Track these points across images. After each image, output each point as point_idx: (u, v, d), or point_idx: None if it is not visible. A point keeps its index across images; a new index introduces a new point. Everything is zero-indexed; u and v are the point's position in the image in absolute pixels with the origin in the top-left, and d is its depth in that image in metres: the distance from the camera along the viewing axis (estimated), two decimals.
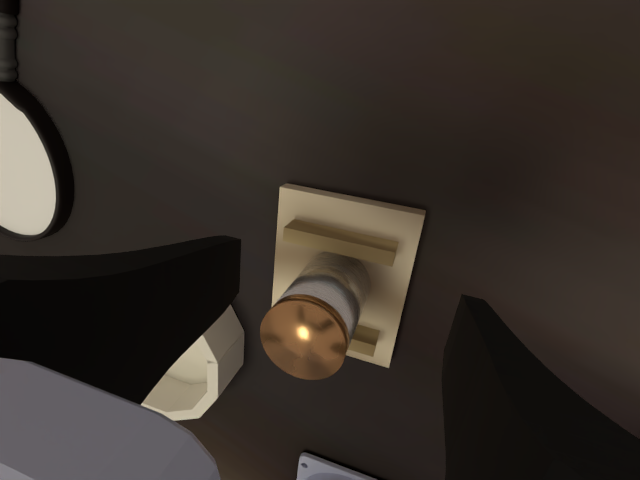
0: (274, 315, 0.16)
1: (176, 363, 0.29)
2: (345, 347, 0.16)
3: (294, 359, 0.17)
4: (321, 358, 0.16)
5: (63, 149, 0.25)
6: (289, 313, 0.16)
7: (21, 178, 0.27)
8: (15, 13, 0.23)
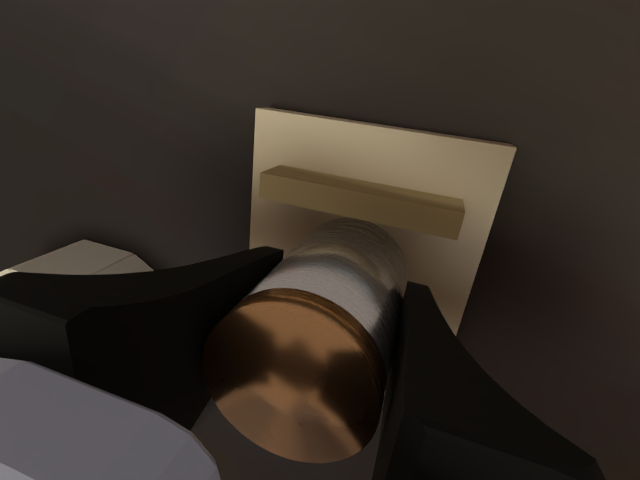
0: (229, 332, 0.08)
1: None
2: (380, 404, 0.07)
3: (271, 421, 0.08)
4: (327, 423, 0.08)
5: None
6: (259, 329, 0.07)
7: None
8: None
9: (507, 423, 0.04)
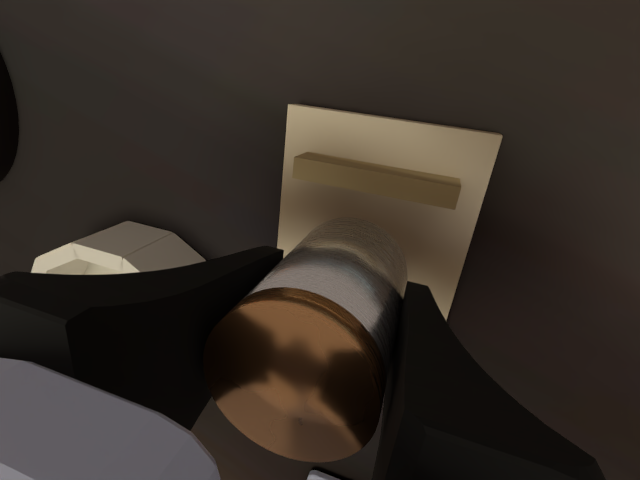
0: (229, 331, 0.08)
1: None
2: (380, 403, 0.07)
3: (272, 420, 0.08)
4: (327, 422, 0.08)
5: (0, 60, 0.19)
6: (259, 328, 0.07)
7: None
8: None
9: (506, 423, 0.04)
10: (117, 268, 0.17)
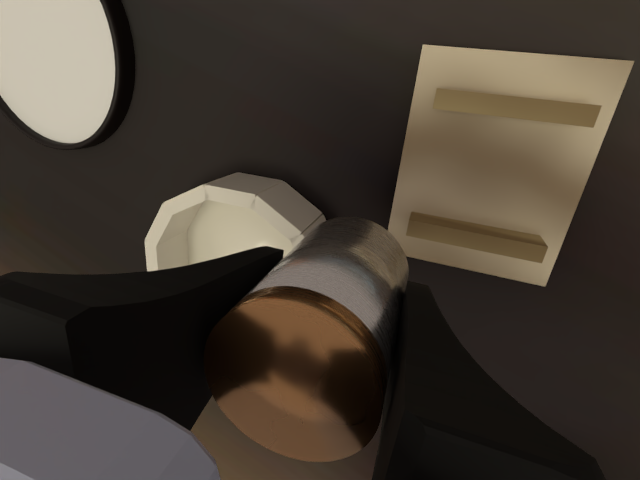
0: (230, 330, 0.08)
1: None
2: (382, 402, 0.07)
3: (272, 420, 0.08)
4: (328, 422, 0.08)
5: (124, 16, 0.21)
6: (260, 327, 0.07)
7: (70, 64, 0.22)
8: None
9: (507, 423, 0.04)
10: (248, 206, 0.19)
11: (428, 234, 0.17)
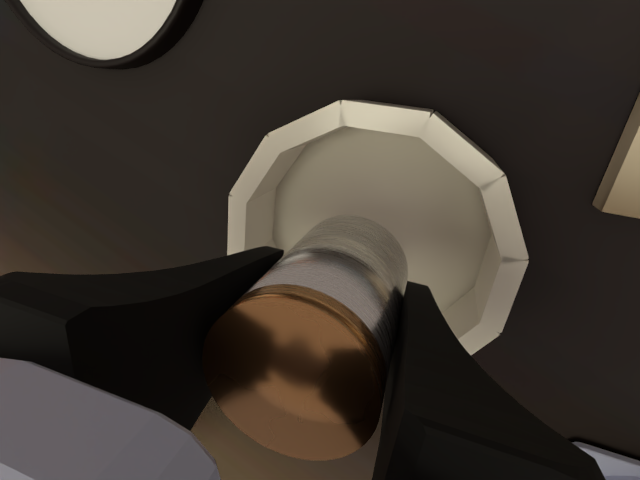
0: (229, 328, 0.08)
1: None
2: (381, 401, 0.07)
3: (271, 418, 0.08)
4: (327, 420, 0.08)
5: None
6: (260, 325, 0.07)
7: None
8: None
9: (507, 424, 0.04)
10: (415, 132, 0.12)
11: None
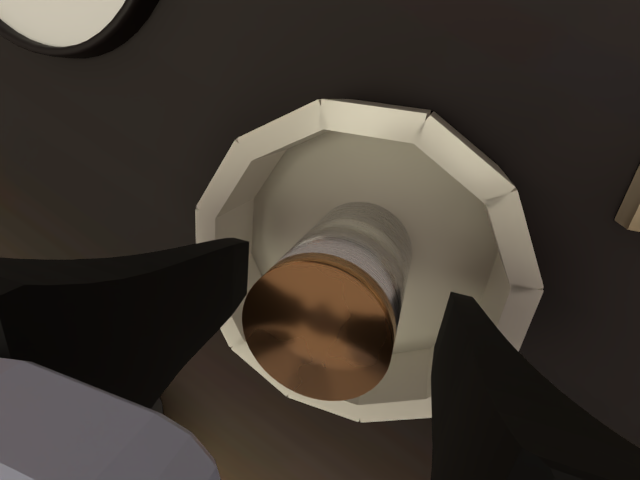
0: (266, 288, 0.09)
1: None
2: (392, 346, 0.09)
3: (299, 365, 0.10)
4: (347, 365, 0.09)
5: None
6: (293, 284, 0.09)
7: None
8: None
9: (622, 460, 0.04)
10: (408, 138, 0.10)
11: None
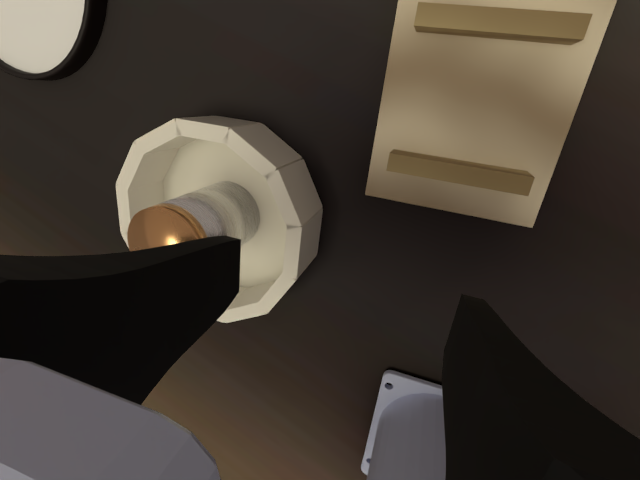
0: (137, 222, 0.17)
1: None
2: None
3: None
4: None
5: None
6: (149, 219, 0.17)
7: None
8: None
9: None
10: (222, 140, 0.18)
11: (409, 169, 0.16)
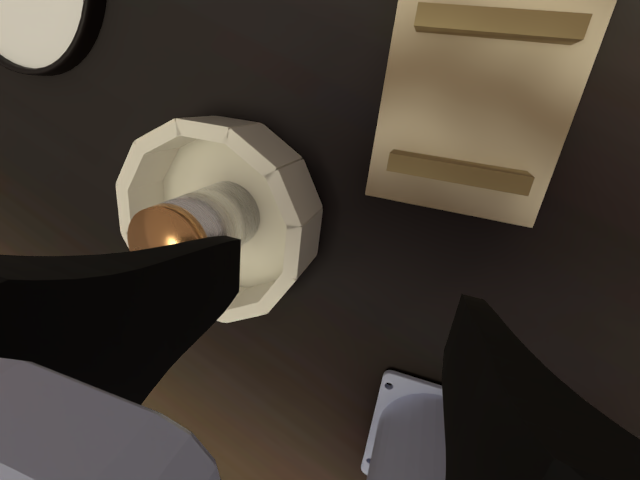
0: (137, 222, 0.17)
1: None
2: None
3: None
4: None
5: None
6: (149, 219, 0.17)
7: None
8: None
9: None
10: (222, 140, 0.18)
11: (409, 169, 0.16)
